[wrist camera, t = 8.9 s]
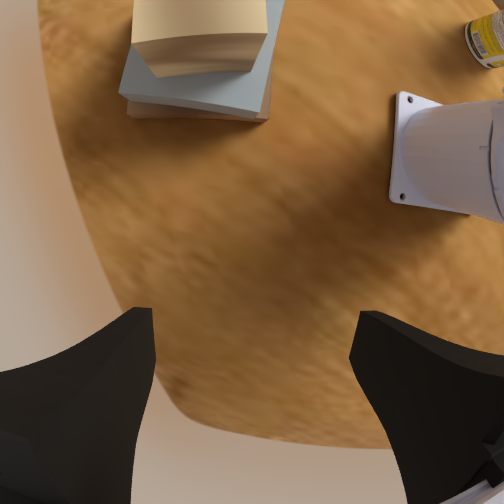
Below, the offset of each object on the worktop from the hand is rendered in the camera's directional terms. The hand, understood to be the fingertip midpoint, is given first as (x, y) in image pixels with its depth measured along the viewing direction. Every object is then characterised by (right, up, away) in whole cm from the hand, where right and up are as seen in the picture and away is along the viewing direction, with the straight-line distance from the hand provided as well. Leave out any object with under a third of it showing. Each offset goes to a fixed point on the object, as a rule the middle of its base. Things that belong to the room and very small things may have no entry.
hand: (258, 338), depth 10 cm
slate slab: (-3, +14, +4) cm, 15 cm away
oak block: (-3, +13, +2) cm, 14 cm away
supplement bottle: (+20, +21, +7) cm, 30 cm away
